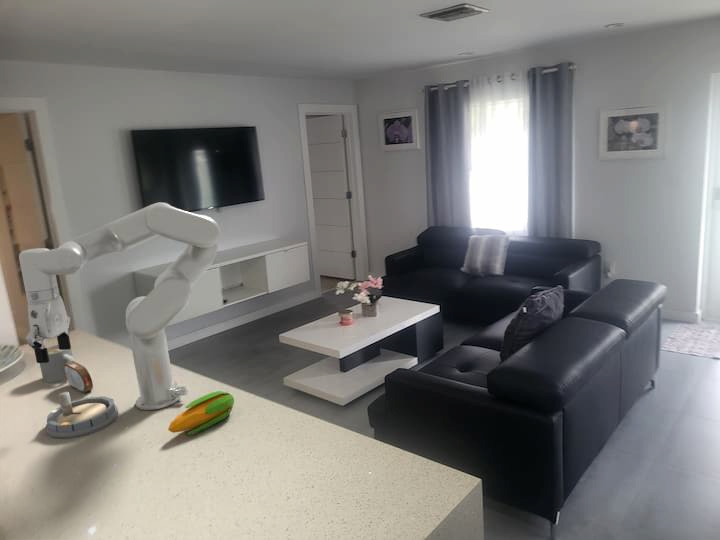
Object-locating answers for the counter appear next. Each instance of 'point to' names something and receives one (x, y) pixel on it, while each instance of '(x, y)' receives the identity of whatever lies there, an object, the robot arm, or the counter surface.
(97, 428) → the dial housing
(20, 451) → the counter surface
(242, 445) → the counter surface
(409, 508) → the counter surface
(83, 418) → the dial
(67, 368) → the tin
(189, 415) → the corn
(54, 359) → the coffee mug
